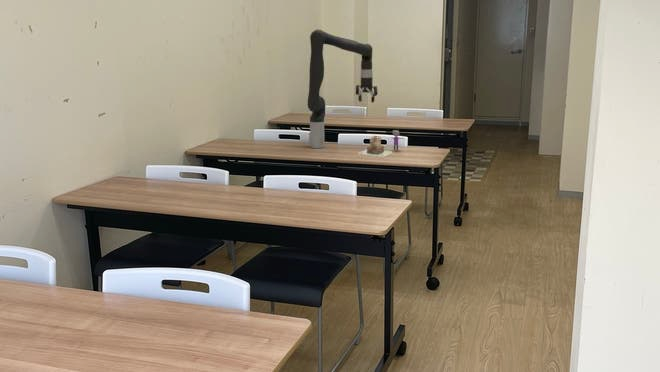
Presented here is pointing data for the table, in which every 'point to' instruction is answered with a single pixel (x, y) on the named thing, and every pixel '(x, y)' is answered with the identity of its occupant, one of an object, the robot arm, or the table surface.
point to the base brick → (375, 150)
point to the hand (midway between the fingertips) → (366, 101)
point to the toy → (396, 139)
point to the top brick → (375, 141)
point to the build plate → (376, 154)
